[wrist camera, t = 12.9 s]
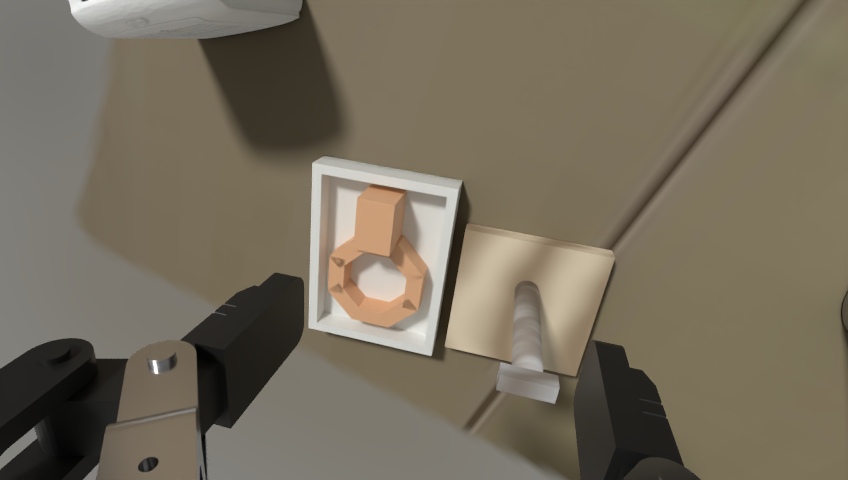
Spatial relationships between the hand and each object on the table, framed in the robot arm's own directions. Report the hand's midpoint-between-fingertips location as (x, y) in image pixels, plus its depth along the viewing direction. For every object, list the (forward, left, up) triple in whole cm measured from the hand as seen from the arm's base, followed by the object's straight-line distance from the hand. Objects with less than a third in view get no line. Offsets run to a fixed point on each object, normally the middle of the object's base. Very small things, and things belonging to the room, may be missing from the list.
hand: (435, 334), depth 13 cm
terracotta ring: (+8, +11, -26) cm, 29 cm away
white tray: (+8, +12, -26) cm, 30 cm away
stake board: (-5, +13, -26) cm, 30 cm away
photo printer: (+21, -7, -27) cm, 35 cm away
